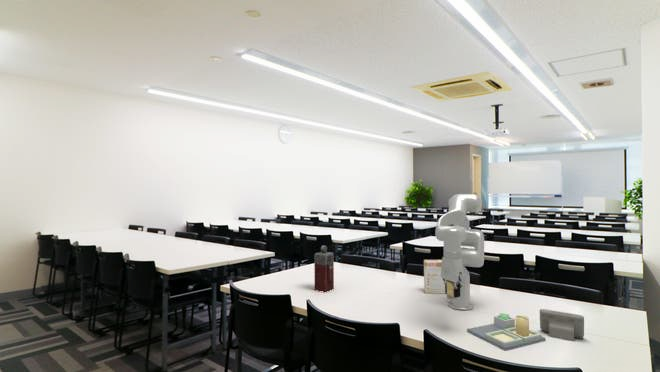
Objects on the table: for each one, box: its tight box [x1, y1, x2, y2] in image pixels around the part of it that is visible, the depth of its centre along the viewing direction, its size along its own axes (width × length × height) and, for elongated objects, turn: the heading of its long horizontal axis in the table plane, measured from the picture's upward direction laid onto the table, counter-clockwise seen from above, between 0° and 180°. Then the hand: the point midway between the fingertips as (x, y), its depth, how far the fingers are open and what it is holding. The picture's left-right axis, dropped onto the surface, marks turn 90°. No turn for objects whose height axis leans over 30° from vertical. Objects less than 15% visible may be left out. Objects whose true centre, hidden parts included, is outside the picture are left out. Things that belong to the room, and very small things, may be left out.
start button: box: [498, 313, 510, 320], centre depth 158 cm, size 4×4×4 cm
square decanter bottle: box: [313, 245, 335, 293], centre depth 221 cm, size 9×11×28 cm
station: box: [466, 315, 546, 351], centre depth 151 cm, size 20×23×8 cm
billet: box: [446, 280, 458, 299], centre depth 160 cm, size 5×5×7 cm
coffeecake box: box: [423, 259, 446, 295], centre depth 215 cm, size 15×7×20 cm, turn 84°
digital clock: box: [539, 308, 585, 342], centre depth 151 cm, size 16×9×11 cm, turn 44°
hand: (452, 294), depth 160 cm, fingers closed on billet, 5 cm apart
